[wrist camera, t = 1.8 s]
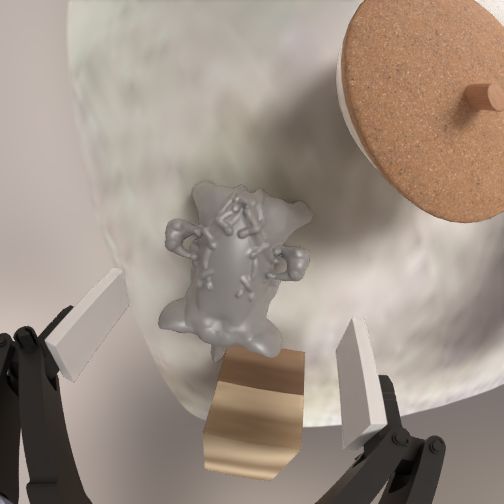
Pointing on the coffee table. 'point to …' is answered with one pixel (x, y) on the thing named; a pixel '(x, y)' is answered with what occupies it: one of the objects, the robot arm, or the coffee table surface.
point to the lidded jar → (428, 102)
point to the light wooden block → (252, 431)
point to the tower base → (264, 370)
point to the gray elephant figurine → (235, 267)
